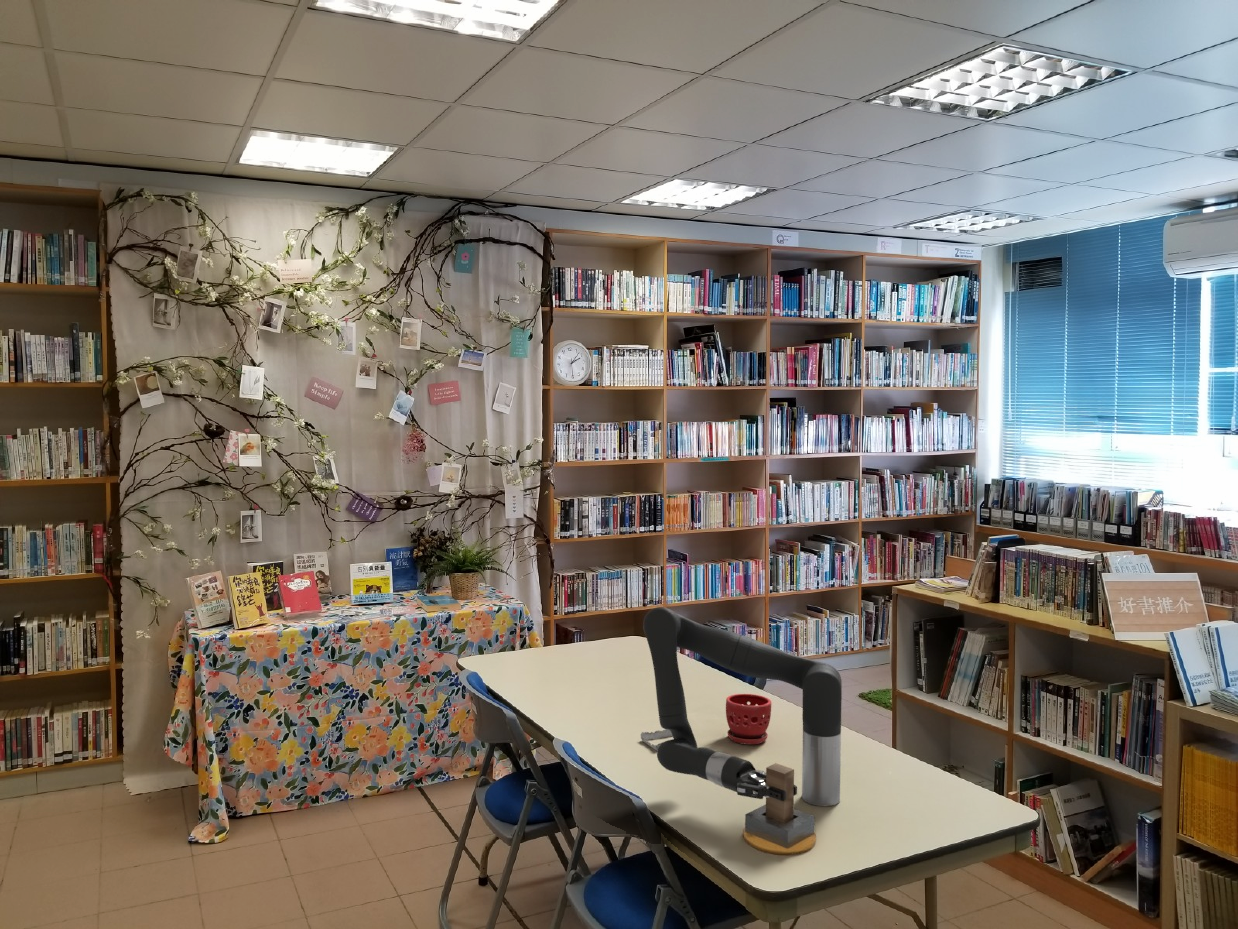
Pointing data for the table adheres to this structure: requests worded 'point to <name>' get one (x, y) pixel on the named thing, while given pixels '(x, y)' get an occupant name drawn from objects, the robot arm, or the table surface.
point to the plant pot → (748, 718)
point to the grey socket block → (779, 833)
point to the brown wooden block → (784, 781)
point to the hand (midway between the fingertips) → (790, 793)
